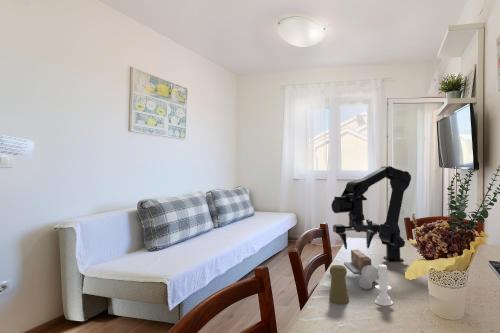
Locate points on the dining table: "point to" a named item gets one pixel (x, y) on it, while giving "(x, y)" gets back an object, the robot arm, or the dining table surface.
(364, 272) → the salt shaker
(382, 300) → the candle
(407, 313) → the dining table surface
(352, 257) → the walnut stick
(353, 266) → the rest mat
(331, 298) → the pepper shaker
